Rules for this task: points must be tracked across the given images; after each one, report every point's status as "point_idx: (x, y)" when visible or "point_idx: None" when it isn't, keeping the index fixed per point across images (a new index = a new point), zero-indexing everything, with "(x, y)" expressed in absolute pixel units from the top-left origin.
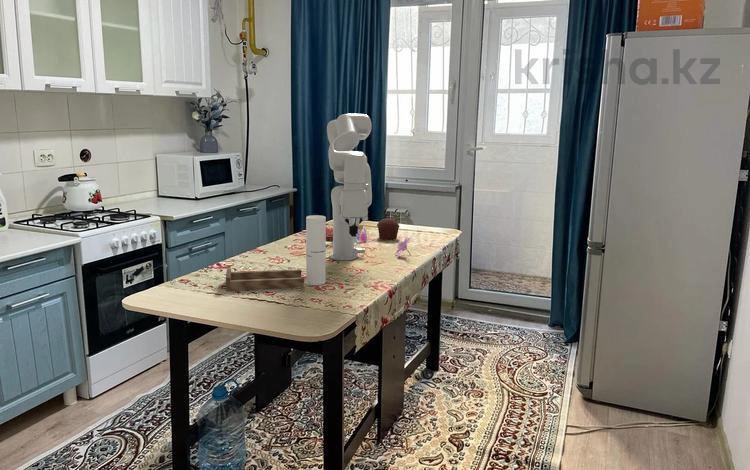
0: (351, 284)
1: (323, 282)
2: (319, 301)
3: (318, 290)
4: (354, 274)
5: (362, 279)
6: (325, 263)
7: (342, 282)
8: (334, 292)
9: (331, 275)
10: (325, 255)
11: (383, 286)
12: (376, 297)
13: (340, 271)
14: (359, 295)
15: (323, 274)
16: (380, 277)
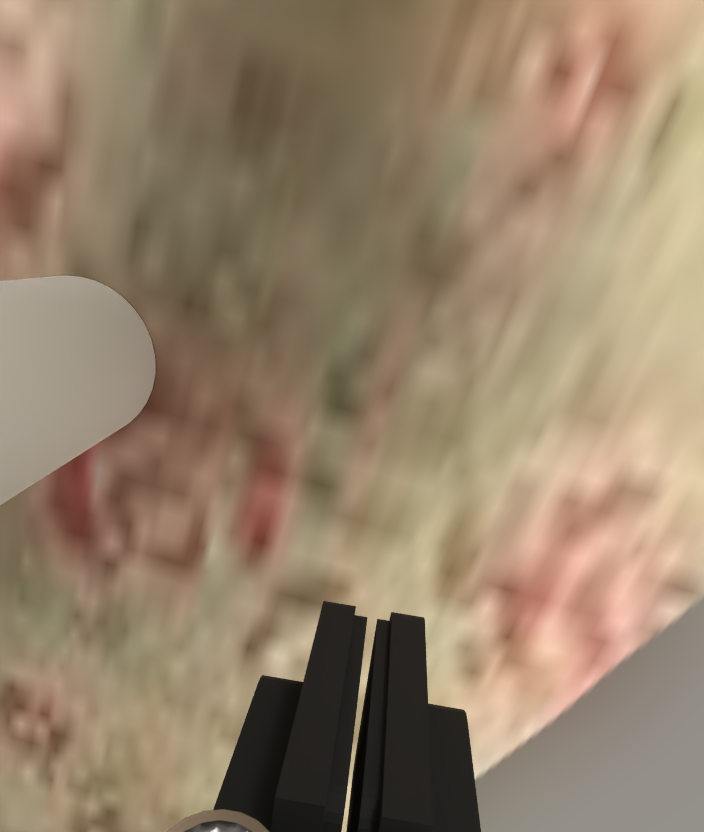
0: (353, 496)
1: (125, 425)
2: (49, 750)
3: (70, 555)
4: (480, 217)
5: (495, 394)
6: (65, 436)
7: (295, 425)
8: (176, 628)
9: (249, 190)
10: (6, 471)
11: (590, 616)
12: None
13: (374, 68)
14: None
15: (90, 446)
16: (687, 383)
